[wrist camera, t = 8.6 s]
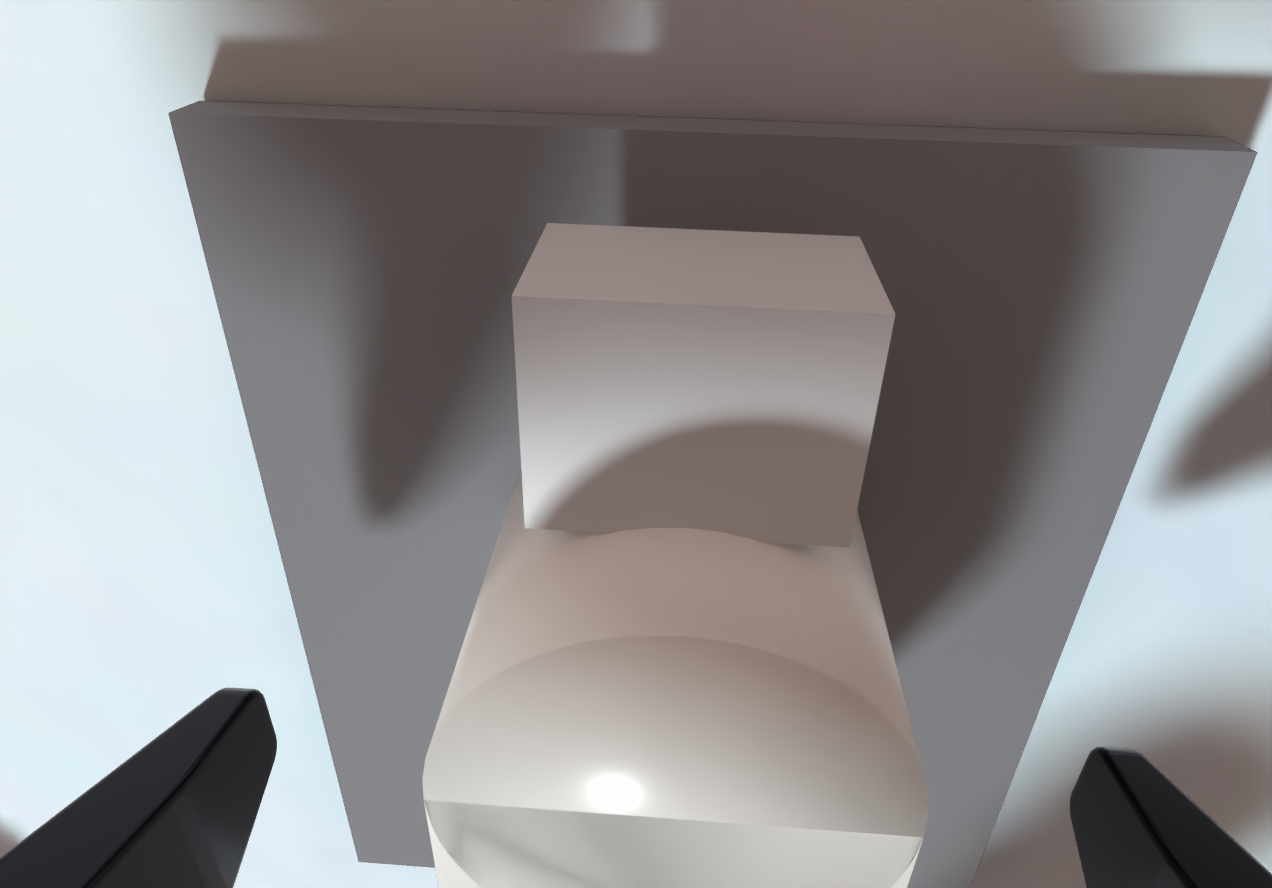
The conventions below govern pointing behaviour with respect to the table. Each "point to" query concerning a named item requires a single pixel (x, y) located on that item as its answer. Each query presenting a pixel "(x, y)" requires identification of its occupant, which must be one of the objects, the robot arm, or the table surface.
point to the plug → (683, 583)
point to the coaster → (706, 200)
